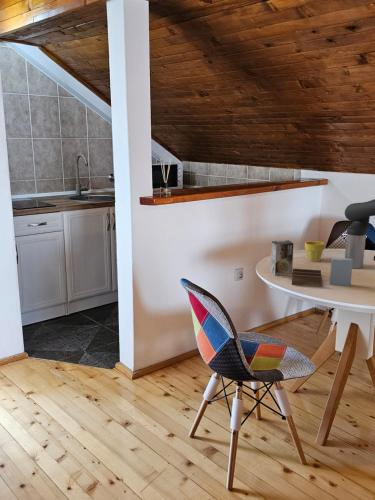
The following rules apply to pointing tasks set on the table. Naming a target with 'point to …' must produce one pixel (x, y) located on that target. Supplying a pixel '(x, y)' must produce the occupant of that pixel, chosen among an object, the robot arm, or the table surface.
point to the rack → (306, 277)
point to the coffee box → (282, 258)
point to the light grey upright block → (341, 271)
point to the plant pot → (314, 250)
